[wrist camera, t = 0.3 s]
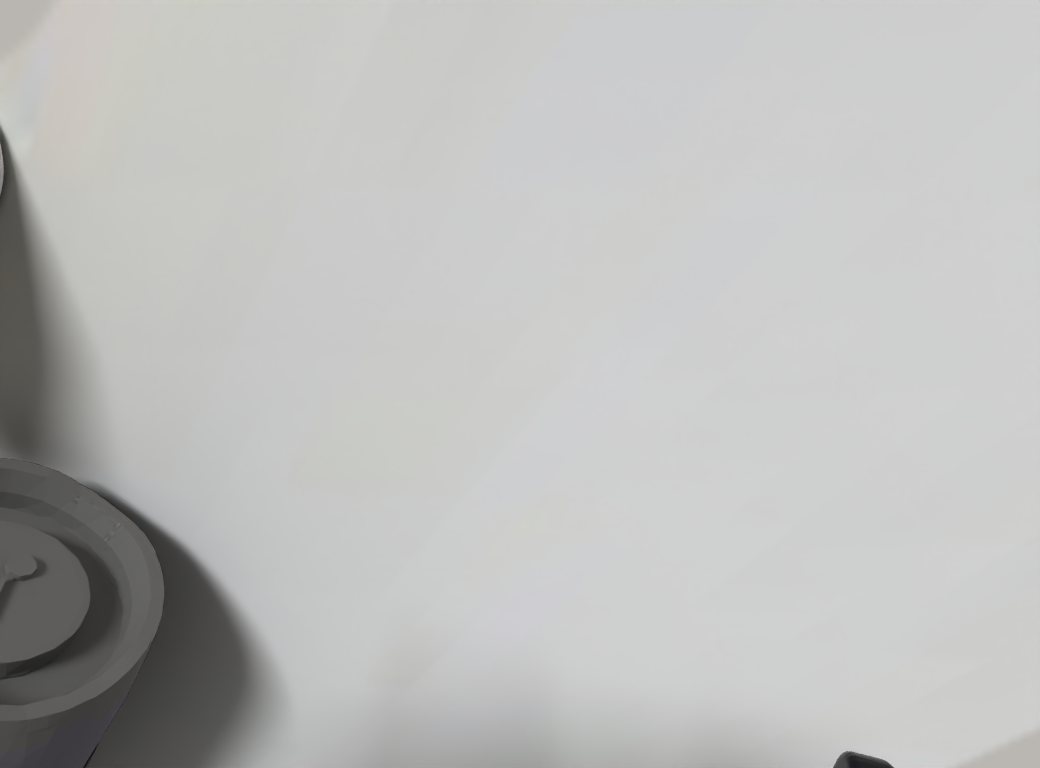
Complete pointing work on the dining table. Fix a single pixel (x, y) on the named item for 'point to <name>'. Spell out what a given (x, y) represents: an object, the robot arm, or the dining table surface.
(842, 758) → the robot arm
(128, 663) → the bluetooth speaker
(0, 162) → the supplement bottle
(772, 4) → the dining table surface
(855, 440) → the dining table surface
